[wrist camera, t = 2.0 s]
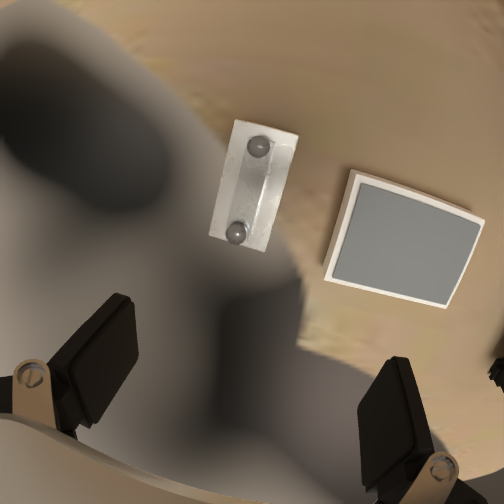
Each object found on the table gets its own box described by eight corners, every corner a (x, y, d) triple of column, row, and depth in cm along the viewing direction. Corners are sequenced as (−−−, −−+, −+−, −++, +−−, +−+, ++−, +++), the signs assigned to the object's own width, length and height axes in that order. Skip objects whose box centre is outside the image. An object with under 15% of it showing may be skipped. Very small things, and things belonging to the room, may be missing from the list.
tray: (351, 168, 25) (357, 174, 22) (471, 211, 24) (487, 221, 21) (322, 265, 30) (324, 281, 26) (437, 294, 28) (447, 310, 25)
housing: (246, 120, 25) (229, 118, 20) (299, 134, 25) (298, 136, 19) (222, 219, 30) (202, 243, 24) (270, 233, 29) (261, 261, 24)
